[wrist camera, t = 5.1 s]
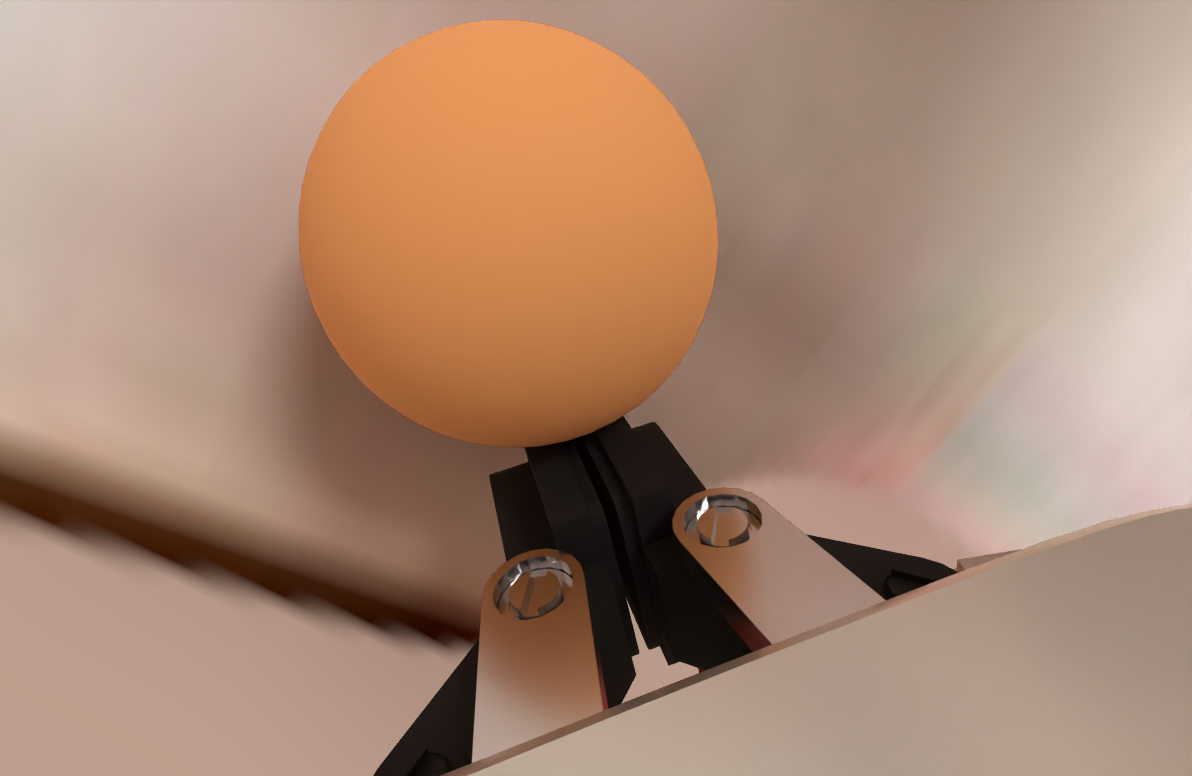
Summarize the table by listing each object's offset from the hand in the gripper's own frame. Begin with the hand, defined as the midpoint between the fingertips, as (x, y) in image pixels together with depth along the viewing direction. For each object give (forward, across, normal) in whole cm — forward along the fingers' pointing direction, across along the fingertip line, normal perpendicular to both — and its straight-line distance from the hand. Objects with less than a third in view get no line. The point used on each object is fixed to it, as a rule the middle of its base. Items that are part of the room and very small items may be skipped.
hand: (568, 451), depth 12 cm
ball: (-1, 0, -4) cm, 5 cm away
